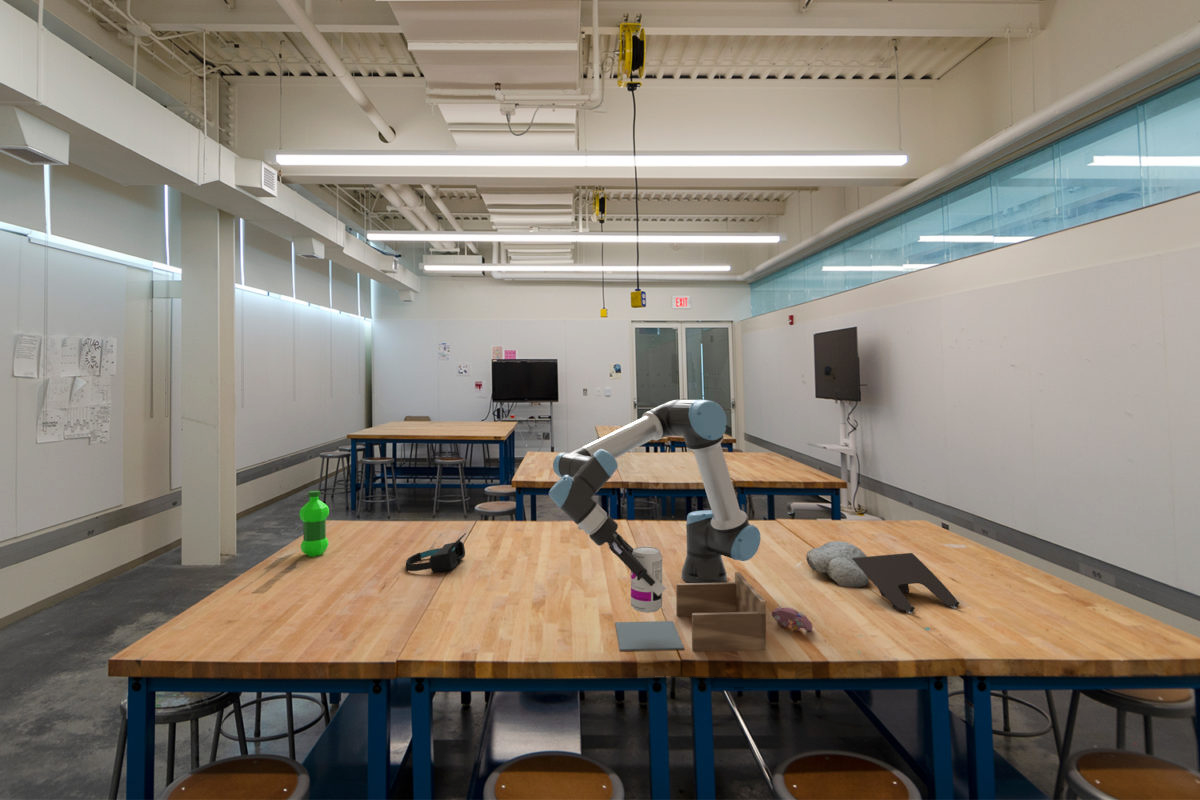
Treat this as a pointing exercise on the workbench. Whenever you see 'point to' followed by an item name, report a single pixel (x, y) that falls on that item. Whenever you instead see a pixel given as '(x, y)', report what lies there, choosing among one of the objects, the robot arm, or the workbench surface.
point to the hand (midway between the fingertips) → (659, 585)
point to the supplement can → (640, 591)
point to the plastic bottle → (314, 525)
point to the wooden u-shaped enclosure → (723, 615)
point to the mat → (648, 636)
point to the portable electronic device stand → (902, 578)
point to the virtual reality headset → (438, 558)
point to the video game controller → (791, 618)
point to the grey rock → (838, 563)
